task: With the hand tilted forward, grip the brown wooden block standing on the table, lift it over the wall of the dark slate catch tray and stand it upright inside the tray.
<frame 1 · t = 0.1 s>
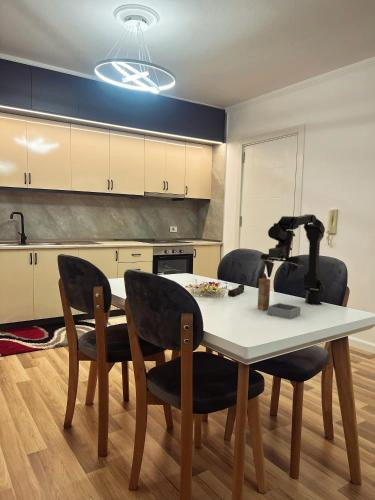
hand: (277, 278, 164), 15 cm above the table, tool pointing down, fingers open, 9 cm apart
catch tray: (283, 314, 163), on the table
brown wooden block: (263, 309, 172), on the table
hand tool: (236, 294, 206), on the table
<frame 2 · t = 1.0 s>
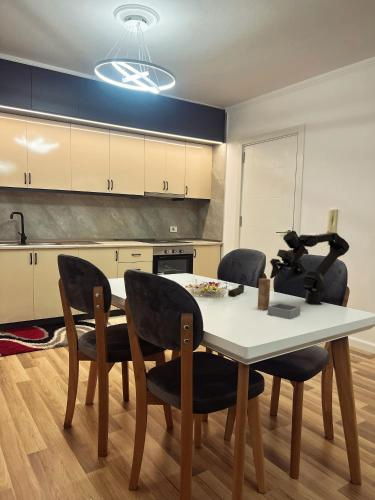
hand: (277, 279, 175), 13 cm above the table, tool tilted 45°, fingers open, 9 cm apart
nothing on the table moved.
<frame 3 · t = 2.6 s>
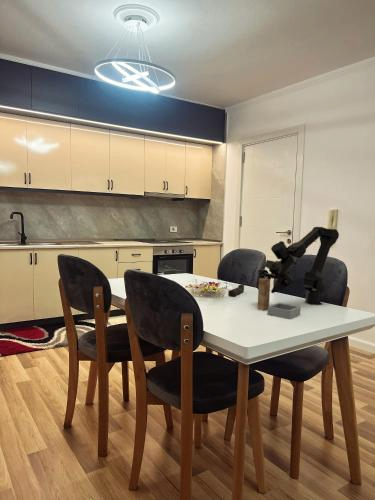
hand: (264, 290, 172), 9 cm above the table, tool tilted 45°, fingers open, 9 cm apart
nothing on the table moved.
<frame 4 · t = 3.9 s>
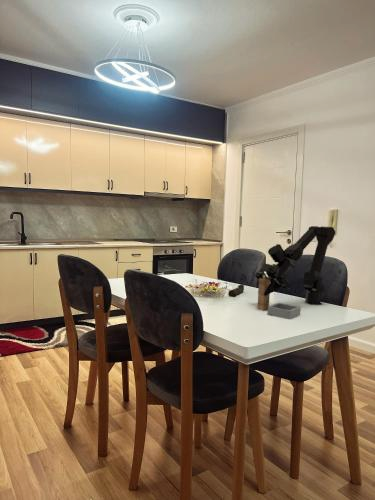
hand: (261, 294, 171), 7 cm above the table, tool tilted 45°, fingers closed on brown wooden block, 4 cm apart
brown wooden block: (263, 309, 172), on the table, touching gripper
everything else where it was.
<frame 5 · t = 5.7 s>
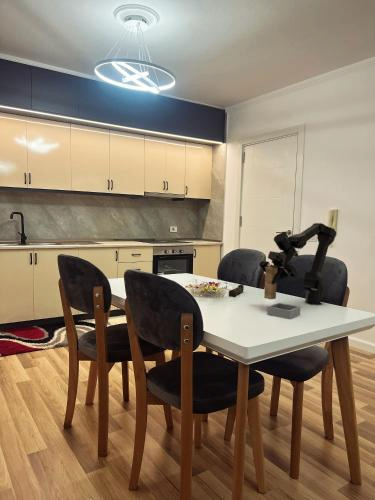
hand: (268, 282, 167), 13 cm above the table, tool tilted 45°, fingers closed on brown wooden block, 4 cm apart
brown wooden block: (269, 298, 169), point 6 cm above the table, touching gripper
everything else where it was.
when the fingers open (9 cm above the table, at t = 7.6 s): brown wooden block stays where it is, resting on catch tray.
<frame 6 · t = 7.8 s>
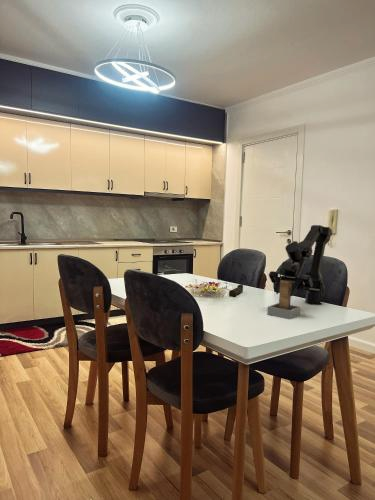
hand: (283, 294, 162), 9 cm above the table, tool tilted 45°, fingers open, 6 cm apart
brown wooden block: (284, 312, 163), point 1 cm above the table, touching catch tray
everything else where it was.
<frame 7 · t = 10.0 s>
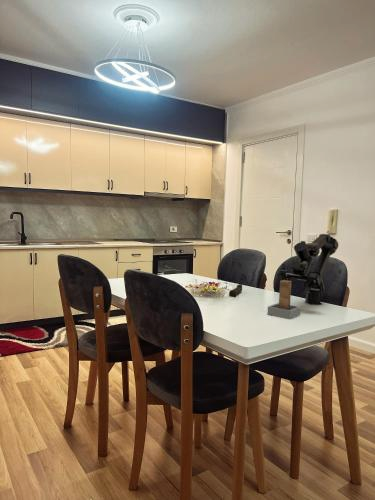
hand: (292, 292, 169), 9 cm above the table, tool tilted 45°, fingers open, 9 cm apart
nothing on the table moved.
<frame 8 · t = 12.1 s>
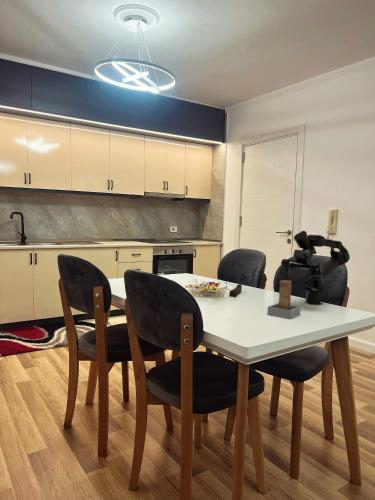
hand: (295, 280, 174), 14 cm above the table, tool tilted 45°, fingers open, 9 cm apart
nothing on the table moved.
at the end: brown wooden block 0.0 cm off-centre on the catch tray, point 0.8 cm above the catch tray's base; brown wooden block tilted 0°; the gripper is holding nothing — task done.
